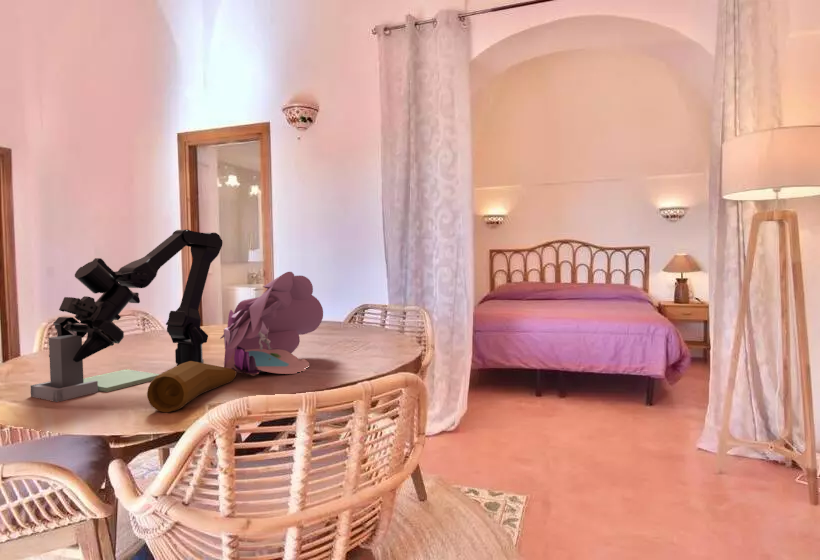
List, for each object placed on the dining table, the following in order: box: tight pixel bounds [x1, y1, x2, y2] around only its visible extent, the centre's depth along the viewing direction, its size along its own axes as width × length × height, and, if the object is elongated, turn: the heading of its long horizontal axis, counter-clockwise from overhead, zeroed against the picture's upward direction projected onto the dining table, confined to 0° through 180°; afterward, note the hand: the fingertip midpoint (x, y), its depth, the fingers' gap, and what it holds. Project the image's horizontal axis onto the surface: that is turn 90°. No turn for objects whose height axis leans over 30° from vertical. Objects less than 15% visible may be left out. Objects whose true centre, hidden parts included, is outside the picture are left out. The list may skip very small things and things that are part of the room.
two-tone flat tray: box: [30, 368, 161, 403], centre depth 117 cm, size 23×14×2 cm, turn 154°
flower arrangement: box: [220, 271, 324, 377], centre depth 134 cm, size 36×24×29 cm
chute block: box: [48, 335, 84, 388], centre depth 111 cm, size 4×4×13 cm
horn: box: [146, 361, 237, 413], centre depth 109 cm, size 8×10×25 cm
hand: (62, 359), depth 110 cm, fingers open, 9 cm apart
